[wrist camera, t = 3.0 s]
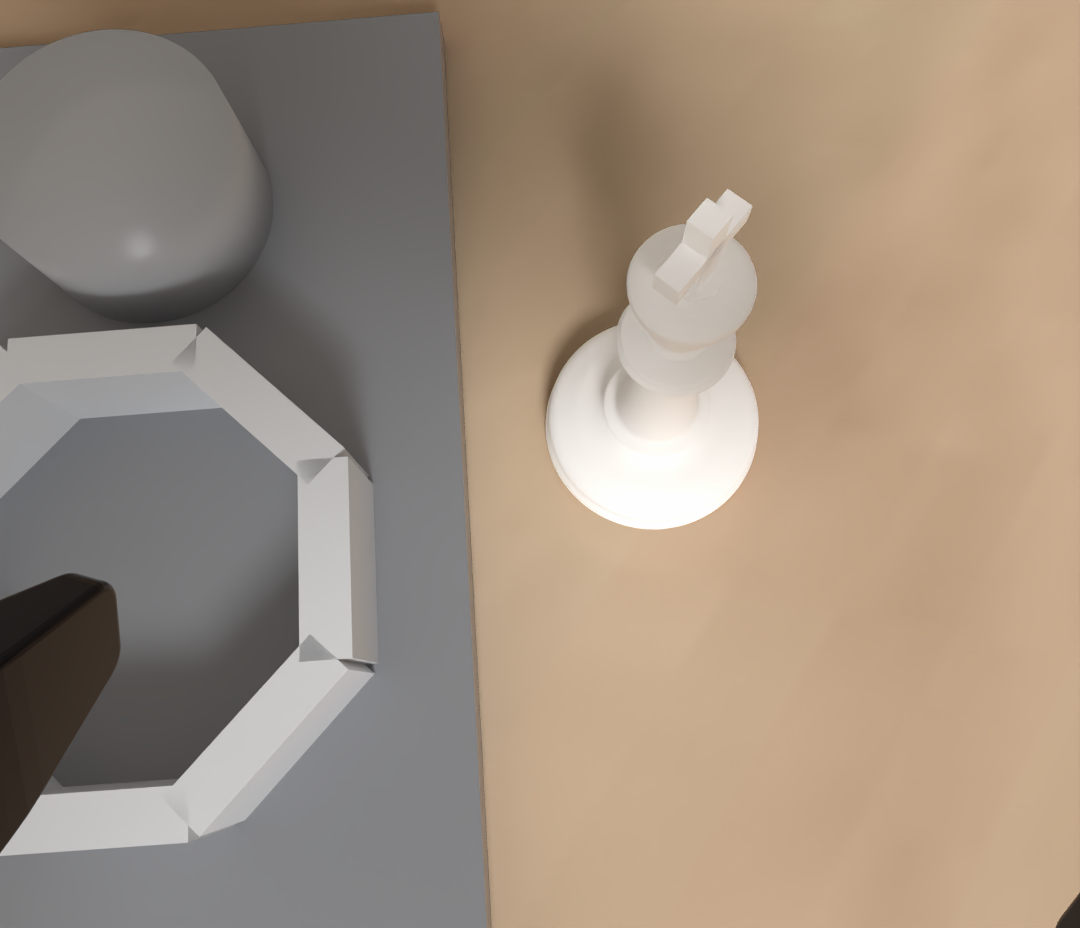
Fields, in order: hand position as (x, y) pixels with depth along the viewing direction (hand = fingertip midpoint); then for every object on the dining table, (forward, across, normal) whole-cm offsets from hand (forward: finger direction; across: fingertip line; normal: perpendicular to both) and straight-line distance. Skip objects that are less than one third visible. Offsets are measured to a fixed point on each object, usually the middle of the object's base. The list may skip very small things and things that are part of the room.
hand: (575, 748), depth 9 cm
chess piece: (+14, 0, +4) cm, 15 cm away
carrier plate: (+11, +10, +8) cm, 17 cm away
